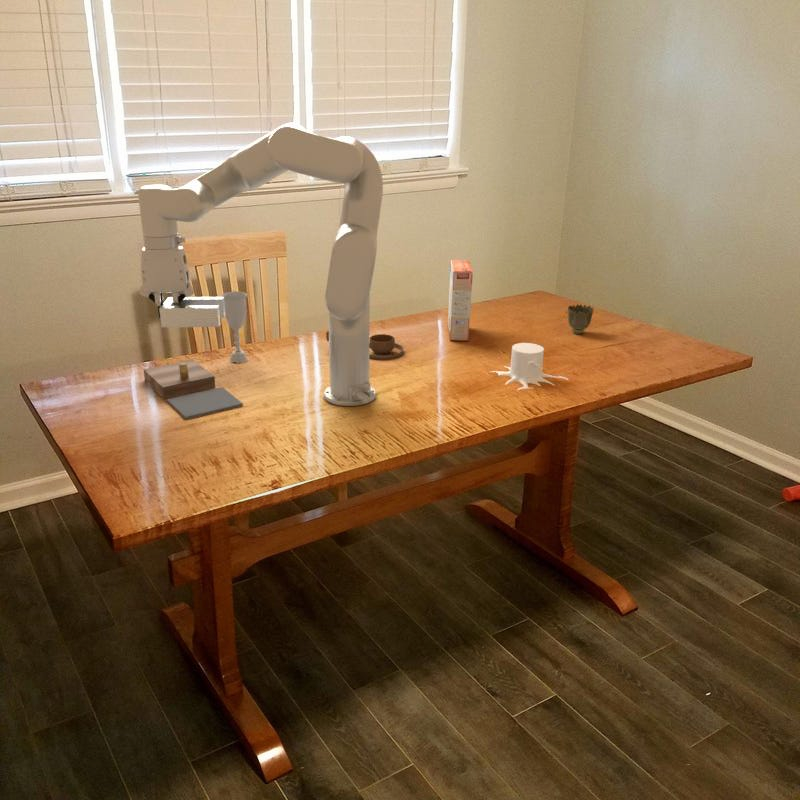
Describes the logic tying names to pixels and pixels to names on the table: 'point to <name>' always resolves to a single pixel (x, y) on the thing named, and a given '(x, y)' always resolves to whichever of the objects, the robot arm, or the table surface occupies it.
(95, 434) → the table surface
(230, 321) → the chalice
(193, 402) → the mat
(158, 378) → the stand
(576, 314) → the cup
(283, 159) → the robot arm
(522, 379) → the tree stump
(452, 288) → the cracker box
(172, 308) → the c link
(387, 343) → the place setting
